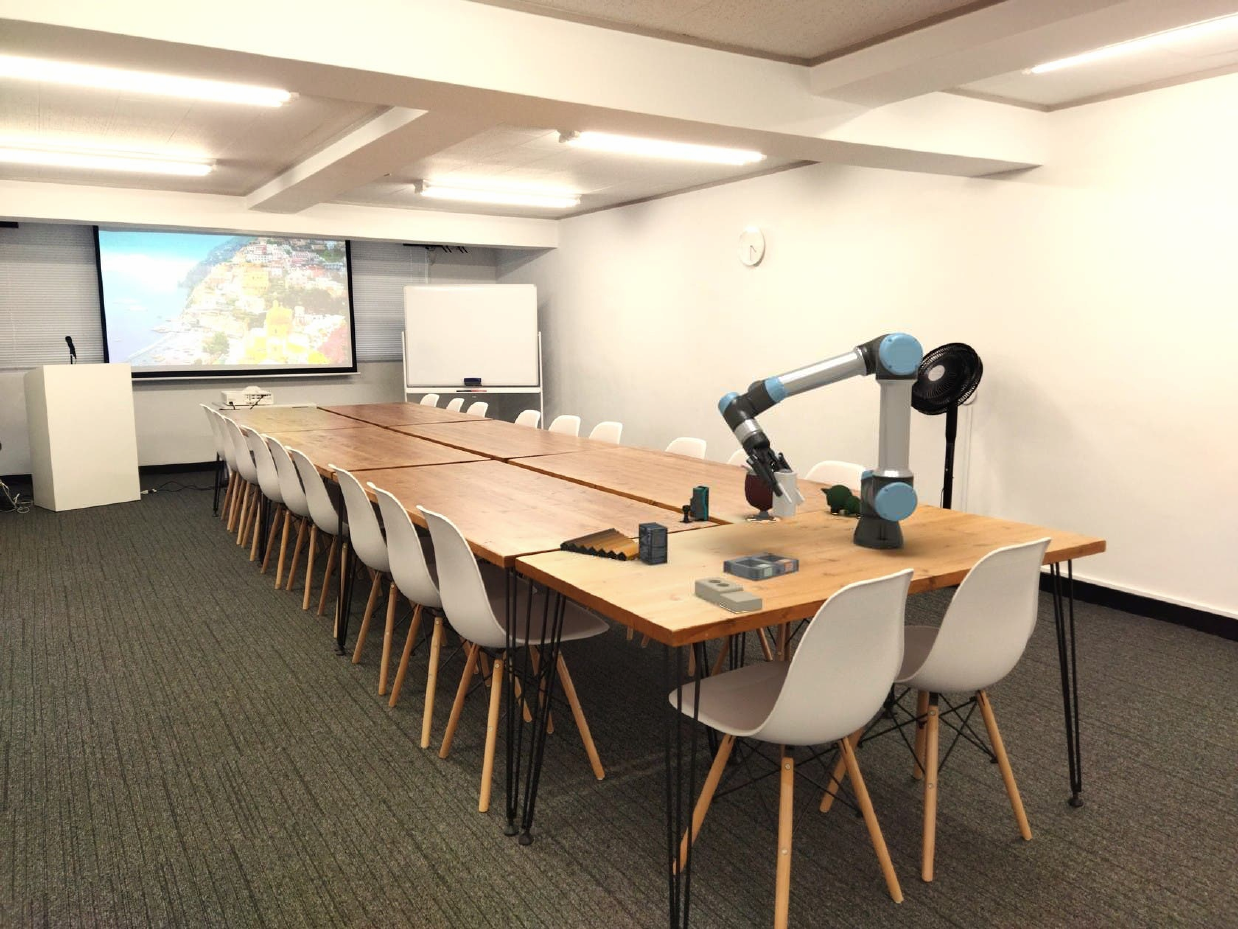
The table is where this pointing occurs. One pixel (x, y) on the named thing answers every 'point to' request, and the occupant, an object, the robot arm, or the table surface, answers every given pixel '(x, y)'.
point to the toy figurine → (842, 500)
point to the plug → (790, 486)
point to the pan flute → (604, 545)
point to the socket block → (761, 566)
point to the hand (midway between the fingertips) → (794, 503)
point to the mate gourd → (758, 496)
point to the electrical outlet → (727, 594)
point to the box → (653, 543)
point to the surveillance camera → (697, 505)
